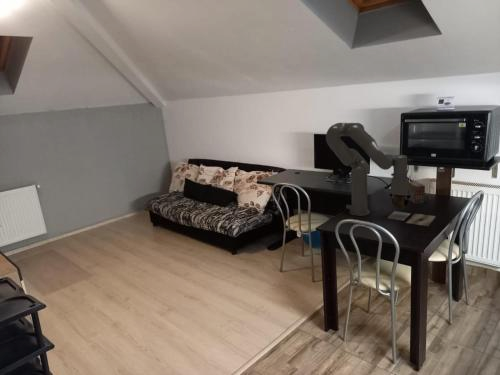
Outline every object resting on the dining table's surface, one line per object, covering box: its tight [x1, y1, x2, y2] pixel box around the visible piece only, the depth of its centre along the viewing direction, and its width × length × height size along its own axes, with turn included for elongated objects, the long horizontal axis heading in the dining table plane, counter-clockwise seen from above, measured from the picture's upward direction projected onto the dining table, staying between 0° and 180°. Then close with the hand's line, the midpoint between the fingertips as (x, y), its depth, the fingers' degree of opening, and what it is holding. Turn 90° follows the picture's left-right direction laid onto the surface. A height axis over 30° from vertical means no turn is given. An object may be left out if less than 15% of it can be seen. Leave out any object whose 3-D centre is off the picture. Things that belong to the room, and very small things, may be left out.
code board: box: [405, 213, 436, 227], centre depth 225 cm, size 12×18×1 cm, turn 142°
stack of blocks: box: [408, 180, 426, 205], centre depth 262 cm, size 21×6×12 cm, turn 2°
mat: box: [386, 210, 411, 221], centre depth 234 cm, size 10×14×1 cm
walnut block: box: [392, 195, 408, 209], centre depth 231 cm, size 6×6×7 cm
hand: (400, 204), depth 232 cm, fingers closed on walnut block, 6 cm apart
